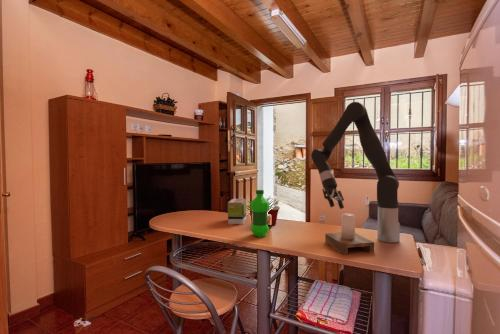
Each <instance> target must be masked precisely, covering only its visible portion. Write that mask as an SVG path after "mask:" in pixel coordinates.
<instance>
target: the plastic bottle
mask: <svg viewBox="0 0 500 334" xmlns="http://www.w3.org/2000/svg"><path fill="white" fill-rule="evenodd" d="M264 191H265V190H264V189H256V190H255V194H256V196H255V198H253V199H252V200H251V201H250V205H249V206H250V210H251V211H252V224H251V227H250V231H251V232H252V234H254V235H255V237H258V238H261V237H266V235H267V234H268V233H269V231H270V226H268V224H267V210H268V209H269V205H270V202H269V201H268V200H267V198H265V197H264V195H263V194H264Z"/></svg>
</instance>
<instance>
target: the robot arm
mask: <svg viewBox="0 0 500 334" xmlns="http://www.w3.org/2000/svg"><path fill="white" fill-rule="evenodd" d="M352 123H354V125H355V127H356V129H357V132H358V136H359V137H358V138H359V143H360V147H361V149H362V151H363V152H364V153H363V154H364V155H365V157H366V159H367V160H368V162H369V163H370V164H371V166H372V167H373V169H374V171H375V173H376V176H377V179H378V180H377V182H376V201H377V240H378V241H379V242H383V243H389V244H391V243H392V244H394V243H398V242H400V239H401V238H400V236H401V235H400V234H401V224H400V222H399V201H398V199H399V198H398V190H399V186H400V181H399V180H398V178H397V176H396V174H395V172H394V171H393V169H392V168H391V166H390V164H389V160H388V158H387V155H386V152H385V150H384V147H383V145H382V142H381V139H380V138H379V136H378V135H377V132H376V130H375V129H374V127H373V125H372V122H371V121H370V117H369V114H368V110H367V108H366V106H365V105H364V104H363V103H362V102H358V101H352V102H351V103H349V104H348V105H347V106H346V108H345V109H344V111H343V114H342V115H341V117H340V118H339V120H338V121H337V123H336V125H334V127H333V129H332V130H331V131H330V132H329V134H328V136H326V137H325V139H324V141H323V142H322V143H321V144H322V146H323V148H322V149H320V148H319V149H318V148H316V149H313V150H312V151H311V154H310V155H311V160H312V162H313V163H314V165H315V167H316V169H317V171H318V174H319V178H320V182H321V185H322V189H321V191H322V193H323V197H324V199H325V200H327V201H328V204H329V207H330V208H333V207H334V206H335V202H334V200H335V201H336V202H337V204H338V207H339V210H342V209H344V208H345V206H344V203H343V201H345V198H344V196H343V194H342V191H341V190H338V189H337V187H338V183H337V181H336V177H335V174H334V173H333V170H332V168H331V166H330V163H328V162H327V161H329V159H330V157H331V155H332V153H333V151H334V149H335V148H336V147H337V145H338V144H339V143H340V142H341V140H342V139H343V136H344V135H345V134H346V131H347V130H348V128H349V127H350V126H351V125H352Z"/></svg>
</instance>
